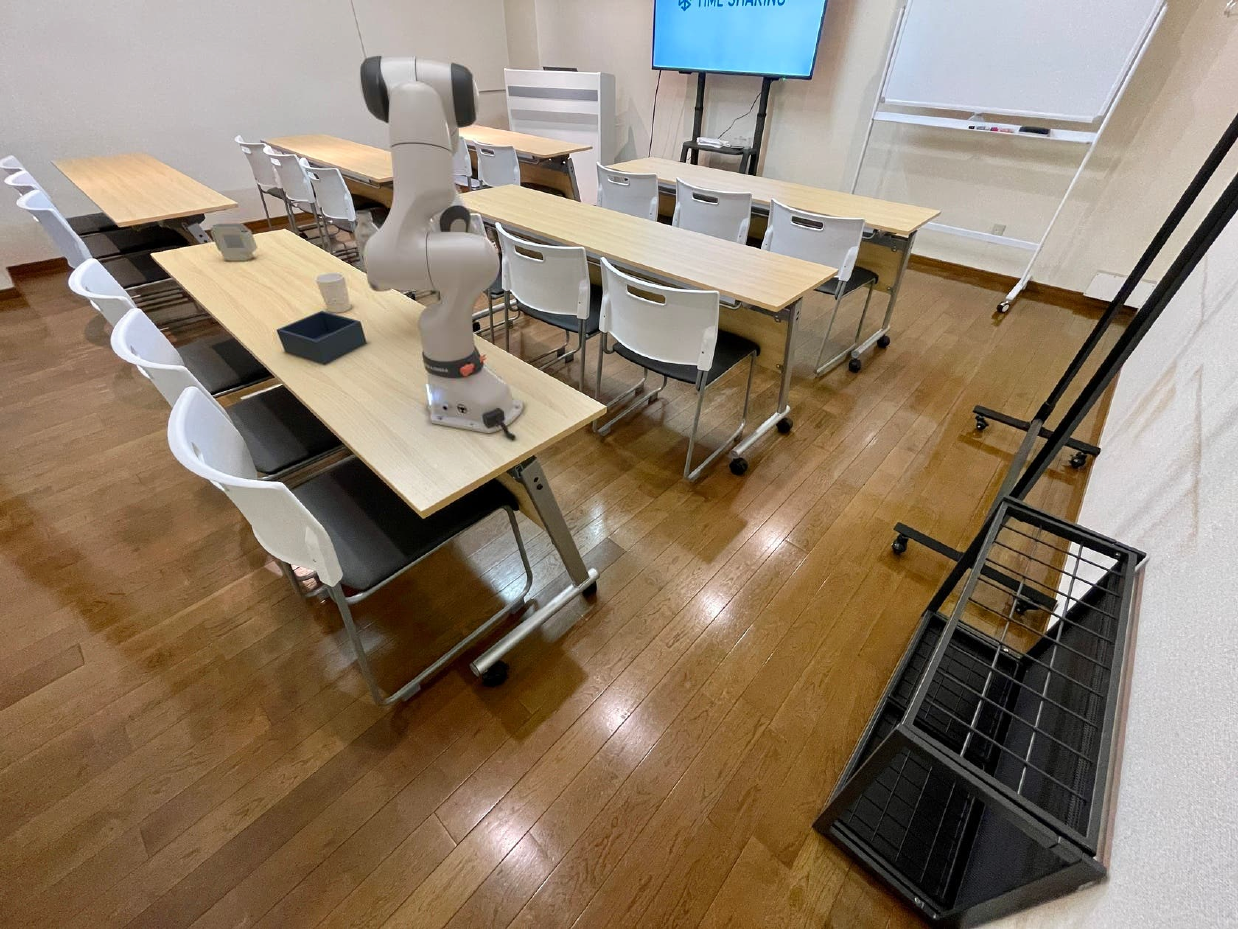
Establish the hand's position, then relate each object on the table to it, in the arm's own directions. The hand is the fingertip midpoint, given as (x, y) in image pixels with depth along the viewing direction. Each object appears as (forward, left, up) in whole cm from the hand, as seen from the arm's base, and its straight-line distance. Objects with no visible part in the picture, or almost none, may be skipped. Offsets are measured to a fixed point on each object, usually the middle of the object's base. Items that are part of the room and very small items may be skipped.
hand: (368, 249), depth 137 cm
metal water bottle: (0, -1, -11) cm, 11 cm away
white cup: (+26, -6, -24) cm, 36 cm away
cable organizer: (+92, -22, -24) cm, 98 cm away
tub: (+8, +15, -24) cm, 29 cm away
